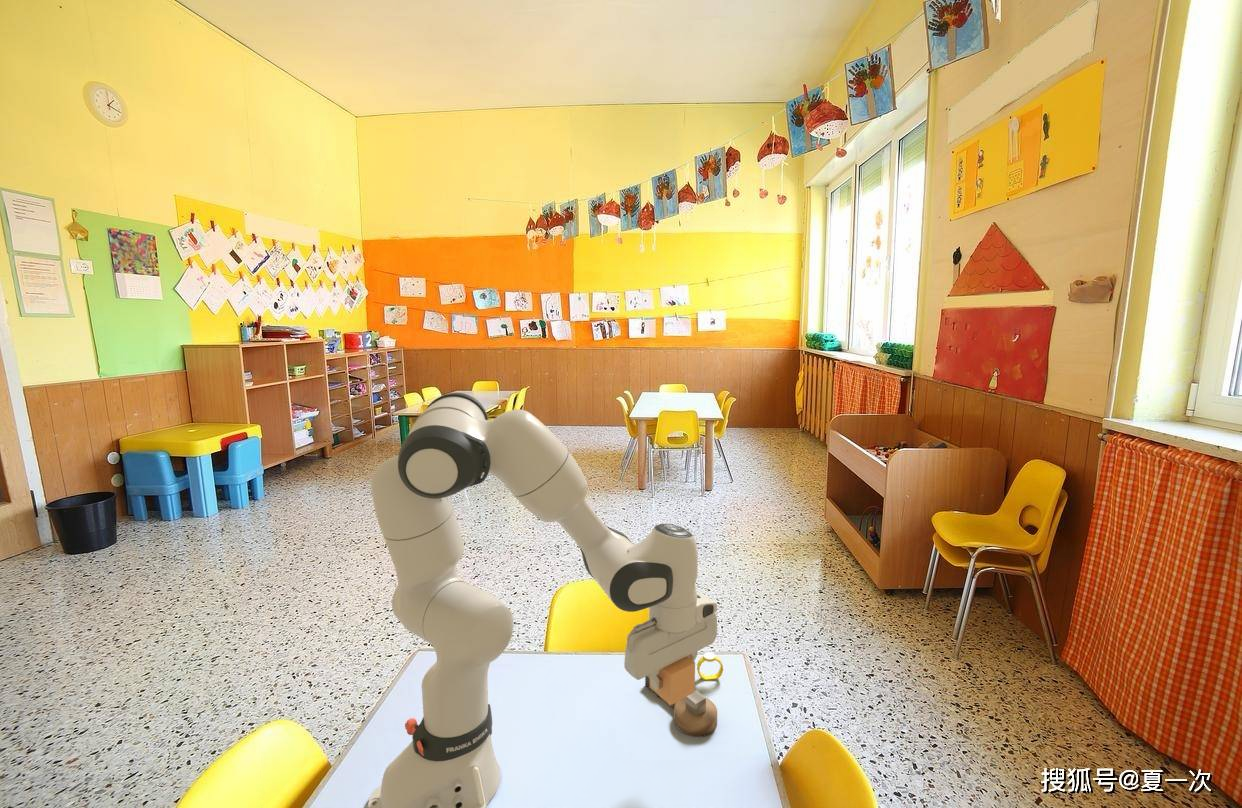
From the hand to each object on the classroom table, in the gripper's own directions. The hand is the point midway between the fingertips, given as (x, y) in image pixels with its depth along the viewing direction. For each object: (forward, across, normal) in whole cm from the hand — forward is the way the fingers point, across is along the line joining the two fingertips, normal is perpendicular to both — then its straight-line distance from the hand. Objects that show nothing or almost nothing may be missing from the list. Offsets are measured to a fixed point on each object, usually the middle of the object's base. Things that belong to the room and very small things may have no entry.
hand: (672, 679), depth 98 cm
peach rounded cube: (+2, 0, 0) cm, 2 cm away
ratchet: (+17, +11, +10) cm, 23 cm away
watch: (+17, +23, +12) cm, 31 cm away
